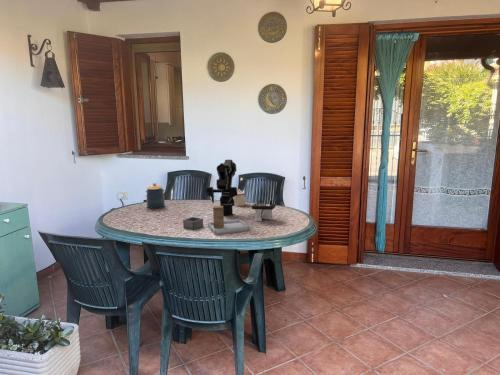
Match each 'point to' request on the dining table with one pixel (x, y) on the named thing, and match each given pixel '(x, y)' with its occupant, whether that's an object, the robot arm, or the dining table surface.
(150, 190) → the canister
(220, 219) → the walnut block
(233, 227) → the plastic tray
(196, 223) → the charcoal open-top box
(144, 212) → the dining table surface
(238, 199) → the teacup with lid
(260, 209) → the black-topped pedestal
